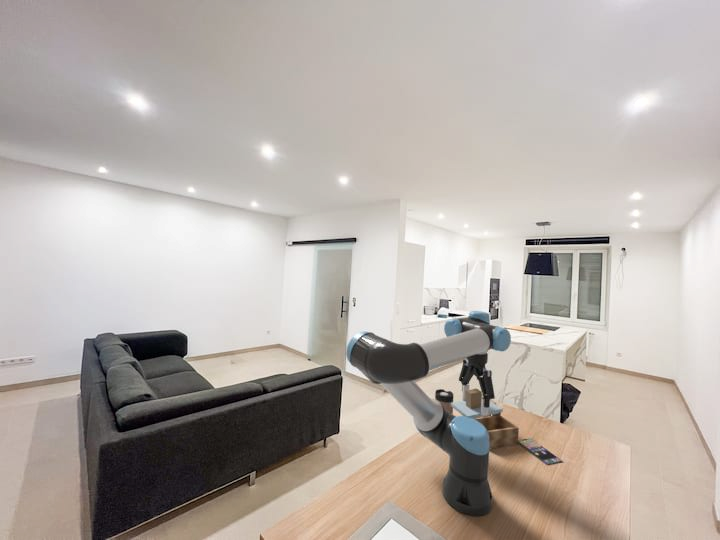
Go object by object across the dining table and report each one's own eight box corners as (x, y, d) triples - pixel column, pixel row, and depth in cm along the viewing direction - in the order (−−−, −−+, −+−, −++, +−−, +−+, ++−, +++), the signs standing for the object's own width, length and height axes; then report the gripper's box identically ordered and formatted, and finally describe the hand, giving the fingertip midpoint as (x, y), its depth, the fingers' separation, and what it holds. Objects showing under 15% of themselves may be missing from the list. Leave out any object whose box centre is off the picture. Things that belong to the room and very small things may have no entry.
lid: (467, 422, 110) (467, 400, 109) (450, 408, 120) (450, 388, 119) (502, 414, 114) (502, 393, 114) (483, 401, 124) (483, 382, 124)
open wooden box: (486, 449, 122) (487, 426, 122) (463, 429, 137) (464, 408, 136) (519, 443, 127) (520, 421, 127) (493, 424, 142) (494, 404, 141)
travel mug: (438, 445, 123) (441, 397, 123) (429, 435, 131) (431, 389, 130) (455, 443, 126) (457, 396, 125) (445, 433, 133) (447, 388, 132)
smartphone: (546, 466, 114) (546, 463, 114) (516, 443, 129) (516, 440, 128) (563, 463, 116) (563, 460, 116) (530, 440, 131) (531, 437, 131)
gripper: (508, 360, 106) (504, 422, 107) (466, 343, 128) (464, 394, 129) (490, 361, 104) (487, 424, 105) (451, 343, 126) (448, 395, 127)
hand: (474, 407), depth 117 cm, fingers closed on lid, 11 cm apart
